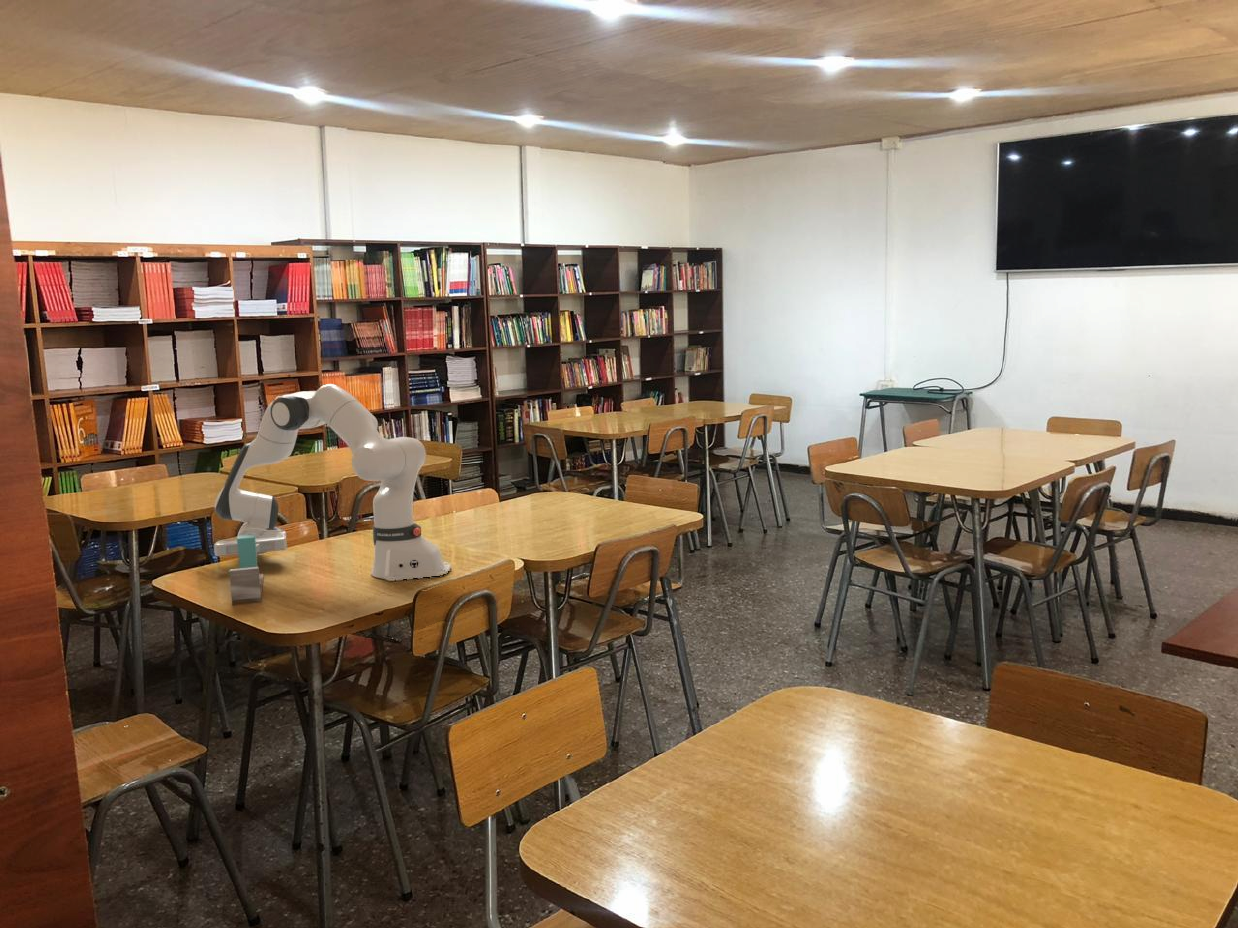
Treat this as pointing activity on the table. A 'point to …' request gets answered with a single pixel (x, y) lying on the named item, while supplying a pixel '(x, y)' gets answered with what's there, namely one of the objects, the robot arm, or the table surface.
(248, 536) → the block
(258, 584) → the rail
